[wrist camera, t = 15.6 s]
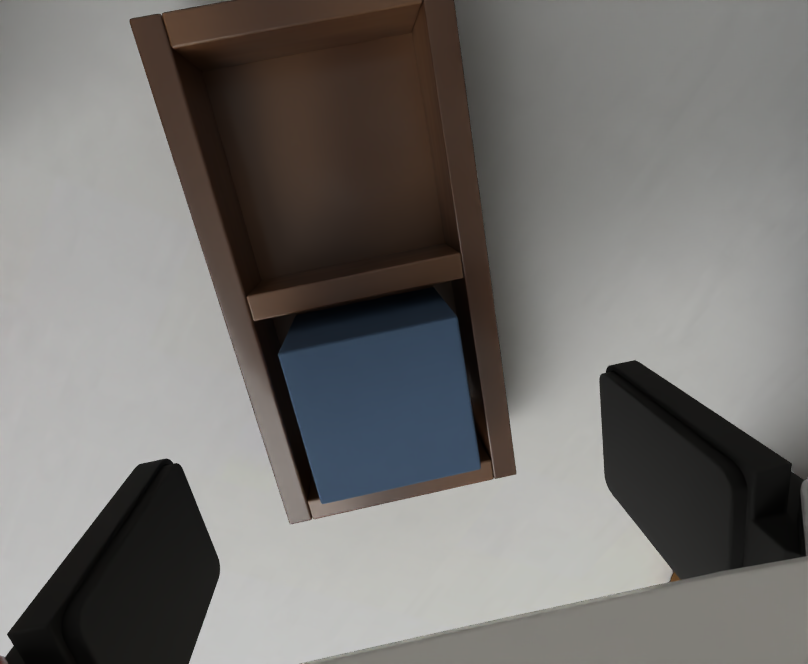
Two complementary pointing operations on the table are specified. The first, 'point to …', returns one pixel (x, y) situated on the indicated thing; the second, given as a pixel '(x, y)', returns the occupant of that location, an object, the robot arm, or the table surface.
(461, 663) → the robot arm
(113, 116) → the table surface
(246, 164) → the brown wooden tray
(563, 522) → the table surface
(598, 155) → the table surface
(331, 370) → the blue block
